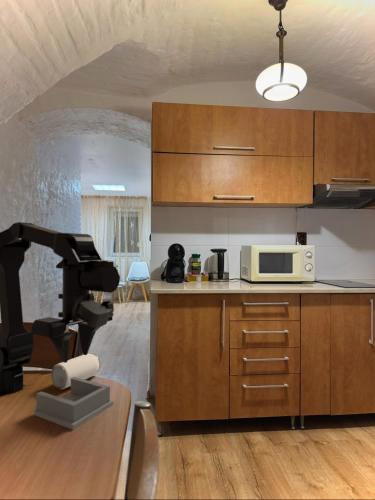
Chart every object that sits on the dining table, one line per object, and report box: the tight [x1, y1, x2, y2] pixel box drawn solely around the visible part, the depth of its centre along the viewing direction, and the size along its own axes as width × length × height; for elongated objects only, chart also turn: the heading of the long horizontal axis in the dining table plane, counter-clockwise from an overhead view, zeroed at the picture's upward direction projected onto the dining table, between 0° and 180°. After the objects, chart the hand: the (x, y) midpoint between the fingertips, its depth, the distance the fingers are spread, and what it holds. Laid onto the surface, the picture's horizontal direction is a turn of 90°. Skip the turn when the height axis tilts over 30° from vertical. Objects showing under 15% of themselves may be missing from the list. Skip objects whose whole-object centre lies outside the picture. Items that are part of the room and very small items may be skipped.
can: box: [50, 353, 101, 390], centre depth 91 cm, size 6×6×12 cm
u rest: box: [33, 377, 114, 431], centre depth 75 cm, size 12×12×4 cm
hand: (75, 358), depth 75 cm, fingers open, 5 cm apart
